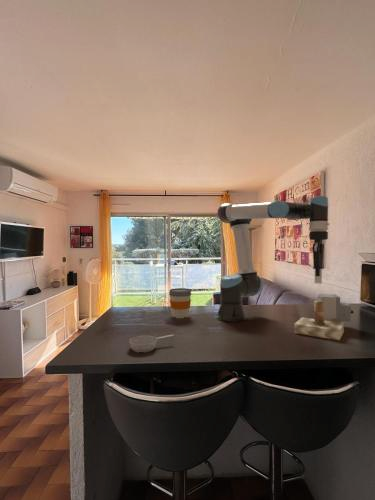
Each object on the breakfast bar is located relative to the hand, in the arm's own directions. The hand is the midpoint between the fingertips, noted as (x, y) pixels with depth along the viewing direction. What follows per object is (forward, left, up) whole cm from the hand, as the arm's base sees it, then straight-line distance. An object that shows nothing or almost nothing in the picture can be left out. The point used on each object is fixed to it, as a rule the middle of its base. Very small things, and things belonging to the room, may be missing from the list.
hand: (318, 283), depth 126 cm
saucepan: (-50, -56, -23) cm, 78 cm away
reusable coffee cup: (-70, -12, -22) cm, 74 cm away
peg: (0, 0, -22) cm, 22 cm away
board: (0, 0, -22) cm, 22 cm away
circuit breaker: (+5, +13, -22) cm, 27 cm away
